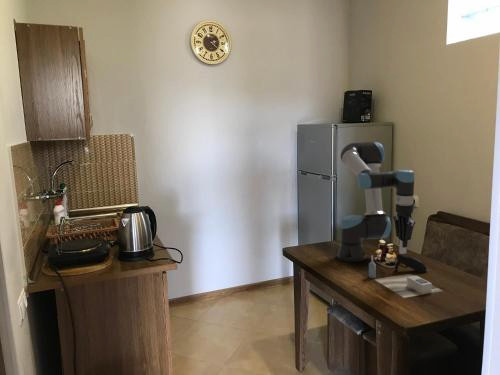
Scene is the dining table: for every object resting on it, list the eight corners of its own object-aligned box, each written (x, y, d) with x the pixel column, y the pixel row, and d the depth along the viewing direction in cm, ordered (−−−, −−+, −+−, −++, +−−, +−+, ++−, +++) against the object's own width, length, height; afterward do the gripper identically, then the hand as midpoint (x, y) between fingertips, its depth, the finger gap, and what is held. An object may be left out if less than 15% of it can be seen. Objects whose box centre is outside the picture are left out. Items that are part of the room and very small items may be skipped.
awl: (367, 277, 197) (367, 255, 196) (373, 276, 198) (373, 254, 196) (371, 279, 194) (370, 257, 193) (377, 278, 195) (376, 256, 193)
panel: (374, 280, 193) (374, 279, 193) (410, 274, 199) (410, 273, 198) (403, 299, 172) (403, 297, 172) (442, 292, 178) (443, 290, 178)
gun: (420, 284, 201) (431, 267, 199) (390, 268, 202) (400, 252, 200) (419, 282, 204) (429, 265, 201) (389, 266, 205) (399, 250, 203)
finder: (406, 285, 185) (407, 276, 184) (416, 283, 186) (416, 274, 185) (421, 293, 175) (422, 284, 175) (431, 292, 177) (431, 282, 176)
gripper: (388, 201, 191) (387, 249, 195) (406, 207, 179) (404, 258, 183) (402, 200, 193) (400, 247, 197) (421, 206, 181) (418, 256, 185)
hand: (402, 253), depth 190 cm, fingers closed
